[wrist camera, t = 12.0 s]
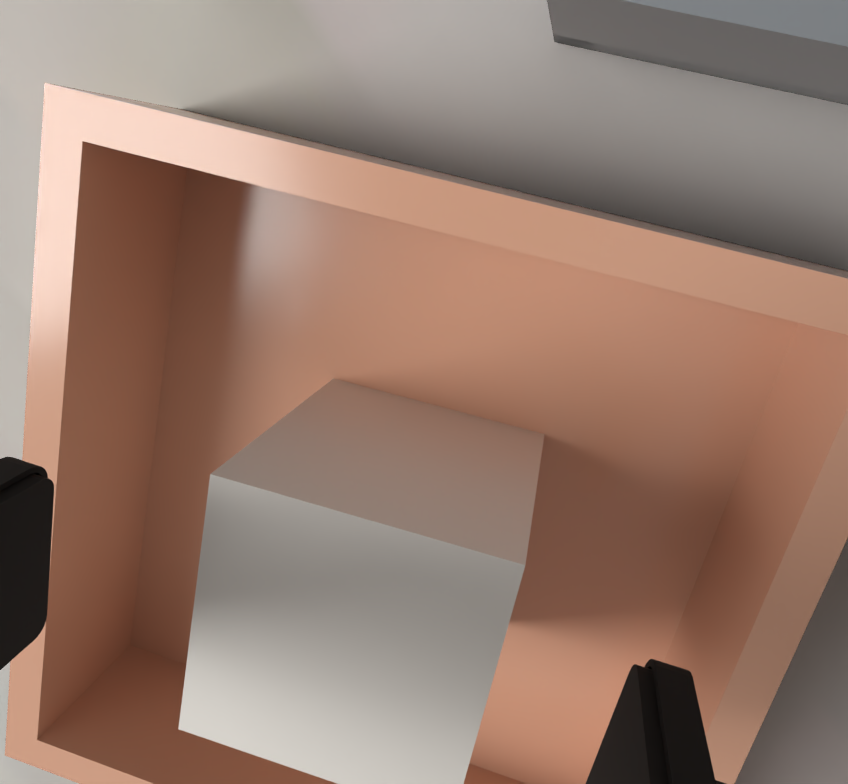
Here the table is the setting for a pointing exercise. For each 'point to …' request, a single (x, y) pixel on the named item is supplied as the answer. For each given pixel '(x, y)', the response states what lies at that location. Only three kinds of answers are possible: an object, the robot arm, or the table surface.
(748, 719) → the bin
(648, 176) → the table surface
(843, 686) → the table surface
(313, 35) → the table surface
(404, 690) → the stone block
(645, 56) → the bin
